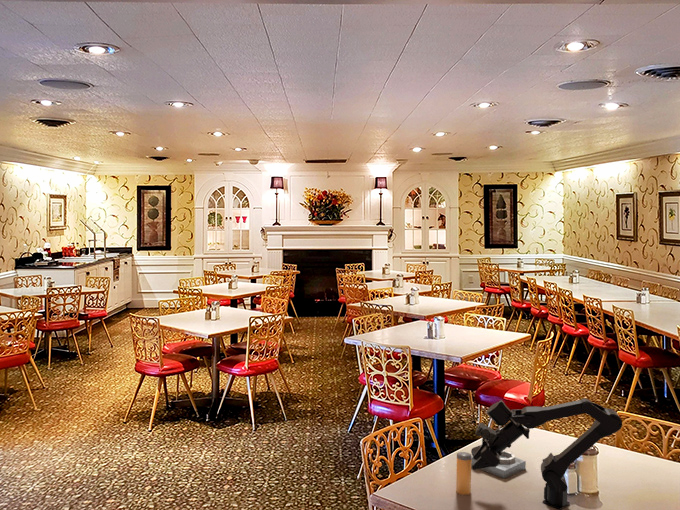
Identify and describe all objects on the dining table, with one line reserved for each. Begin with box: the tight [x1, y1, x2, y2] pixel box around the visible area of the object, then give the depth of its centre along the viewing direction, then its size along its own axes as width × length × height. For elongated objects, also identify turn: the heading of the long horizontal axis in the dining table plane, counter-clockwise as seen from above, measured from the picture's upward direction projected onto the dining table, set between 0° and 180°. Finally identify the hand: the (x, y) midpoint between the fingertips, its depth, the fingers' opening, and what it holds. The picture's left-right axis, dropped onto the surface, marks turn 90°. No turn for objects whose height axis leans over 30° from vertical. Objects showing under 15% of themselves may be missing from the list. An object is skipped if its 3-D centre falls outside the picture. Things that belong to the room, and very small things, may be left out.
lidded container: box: [455, 451, 472, 496], centre depth 199 cm, size 5×5×13 cm
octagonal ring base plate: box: [470, 444, 527, 479], centre depth 220 cm, size 16×14×7 cm
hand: (473, 463), depth 198 cm, fingers open, 9 cm apart
